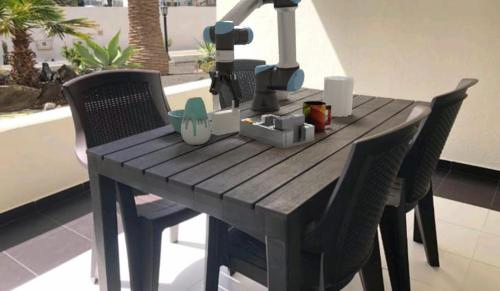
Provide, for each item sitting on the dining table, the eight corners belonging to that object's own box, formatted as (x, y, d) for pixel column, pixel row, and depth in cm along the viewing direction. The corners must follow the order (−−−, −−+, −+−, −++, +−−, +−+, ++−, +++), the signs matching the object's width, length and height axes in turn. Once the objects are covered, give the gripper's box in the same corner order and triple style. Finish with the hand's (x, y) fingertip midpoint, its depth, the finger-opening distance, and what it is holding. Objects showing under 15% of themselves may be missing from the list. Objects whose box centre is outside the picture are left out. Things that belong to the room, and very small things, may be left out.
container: (339, 118, 197) (341, 81, 192) (316, 113, 208) (318, 78, 202) (357, 113, 207) (359, 78, 201) (334, 109, 217) (336, 75, 211)
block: (212, 133, 172) (211, 112, 169) (234, 129, 179) (234, 108, 176) (217, 135, 169) (216, 114, 166) (240, 130, 176) (240, 110, 173)
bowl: (191, 124, 186) (190, 107, 184) (213, 131, 175) (212, 112, 173) (161, 131, 176) (160, 112, 173) (183, 138, 165) (182, 118, 162)
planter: (292, 102, 235) (292, 75, 230) (262, 102, 235) (262, 75, 231) (289, 96, 251) (290, 71, 247) (262, 96, 251) (262, 71, 247)
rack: (239, 133, 171) (238, 110, 168) (269, 127, 181) (269, 104, 178) (283, 148, 151) (284, 122, 148) (314, 140, 161) (315, 115, 158)
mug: (330, 127, 181) (332, 100, 178) (320, 134, 170) (321, 106, 166) (310, 124, 186) (311, 98, 182) (298, 131, 174) (299, 104, 171)
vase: (178, 140, 162) (175, 95, 157) (206, 137, 166) (204, 93, 161) (185, 148, 152) (183, 101, 147) (215, 144, 156) (214, 98, 151)
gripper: (200, 59, 172) (201, 108, 178) (236, 63, 153) (236, 119, 159) (215, 58, 176) (215, 106, 182) (251, 62, 158) (251, 116, 164)
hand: (225, 112), depth 171 cm, fingers open, 13 cm apart
